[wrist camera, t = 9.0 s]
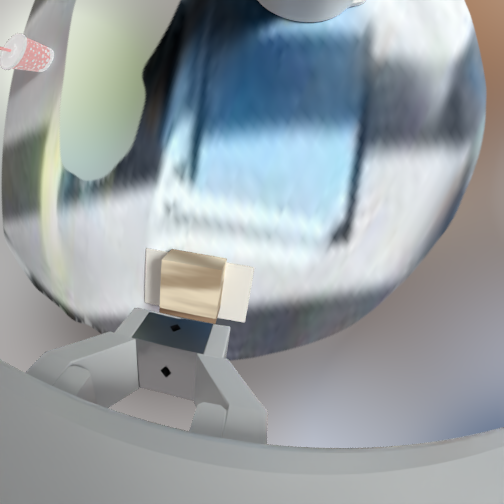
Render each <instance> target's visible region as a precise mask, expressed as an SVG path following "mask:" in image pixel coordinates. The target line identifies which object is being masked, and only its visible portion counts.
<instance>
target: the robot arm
mask: <svg viewBox="0 0 504 504" xmlns="http://www.w3.org/2000/svg"><path fill="white" fill-rule="evenodd" d="M258 1H259V3H260V4H261V5H262V6H264V7H265V8H266V9H267V10H269V11H270V12H272V13H274V14H276V15H278V16H280V17H283V18H286V19H290V20H294V21H300V22H319V21H324V20H328V19H331V18H333V17H336V16H337V15H339V14H340V13H342V12H343V11H344V10H346V9H347V8H349V7H352V6H357V5H361V4H364V3H365V1H366V0H258ZM229 335H230V327H229V326H222V325H215V324H214V325H213V324H209V323H203V322H197V321H192V320H186V319H182V318H179V317H174V316H170V315H166V314H162V313H158V312H154V311H150V310H146V309H141V308H134V309H133V310H132V312H131V313H130V314H129V315H128V317H127V318H126V319H125V320H124V321H123V323H122V324H121V325H120V326H119V328H118V329H117V330H116V331H115V332H114V333H113V332H107V333H104V334H101V335H98V336H95V337H92V338H89V339H85V340H82V341H79V342H76V343H72V344H69V345H66V346H63V347H59V348H56V349H53V350H50V351H46V352H45V353H44V354H43V355H42V356H41V357H40V358H39V359H38V360H37V361H36V362H35V363H34V364H33V365H32V366H31V367H30V368H29V369H28V371H26V373H25V372H23V371H21V370H19V369H17V368H15V367H13V366H11V365H10V364H8V363H6V362H4V361H2V360H1V359H0V504H504V427H502V428H499V429H495V430H491V431H487V432H483V433H479V434H474V435H469V436H464V437H459V438H454V439H448V440H442V441H435V442H429V443H420V444H412V445H402V446H389V447H372V448H309V447H292V446H278V445H269V444H267V417H268V411H267V410H266V409H265V408H264V406H263V405H262V404H261V403H260V401H259V400H258V399H257V397H256V396H255V395H254V394H253V392H252V391H251V390H250V388H249V387H248V385H247V384H246V383H245V382H244V380H243V379H242V378H241V376H240V375H239V373H238V372H237V371H236V369H235V368H234V367H233V365H232V364H231V362H230V361H229V360H228V359H226V354H227V348H228V341H229ZM139 387H140V388H144V389H148V390H152V391H156V392H161V393H165V394H169V395H172V396H176V397H180V398H184V399H188V400H192V401H194V404H195V406H196V411H195V414H194V417H193V420H192V424H191V427H190V430H189V431H185V430H181V429H177V428H172V427H169V426H165V425H161V424H157V423H153V422H150V421H146V420H143V419H139V418H136V417H132V416H130V415H126V414H123V413H120V412H117V411H114V410H111V409H108V408H109V407H110V406H112V405H113V404H115V403H117V402H118V401H120V400H122V399H123V398H125V397H126V396H128V395H130V394H131V393H133V392H135V391H136V390H138V389H139Z"/></svg>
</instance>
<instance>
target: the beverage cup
mask: <svg viewBox="0 0 504 504" xmlns="http://www.w3.org/2000/svg"><path fill="white" fill-rule="evenodd" d="M0 50H2V52H1V55H0V66H1V68H2V69H6V70H7V69H8V70H9V69H19V70H28V71H35V72H43V71H45V70H46V69H48V68H49V66H50V65H51V63H52V61H53V58H54V51H53V50H52V49H51V48H49V47H47V46H44V45H42V44H40V43H38V42H36V41H34V40H31V39H29V38H27V37H26V36H25V35H23V34H21V33H17V34H15V35H13V36H12V37H11V38H10V39H9V40H8V41H7V42H6V44H5V45H4V47H0Z"/></svg>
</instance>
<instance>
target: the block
mask: <svg viewBox="0 0 504 504" xmlns="http://www.w3.org/2000/svg"><path fill="white" fill-rule="evenodd" d="M226 261H227V259H226V258H220V257H214V256H209V255H203V254H197V253H192V252H186V251H180V250H175V249H172V250H171V251H170V252H169V253H168V254H167V255H166V256H165V257H164V258H163V259H162V265H161V285H160V313H164V314H169V315H173V316H178V317H183V318H188V319H193V320H198V321H203V322H208V323H213V324H215V323H216V320H217V317H218V313H219V310H220V305H221V298H222V290H223V283H224V276H225V268H226Z"/></svg>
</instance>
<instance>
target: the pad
mask: <svg viewBox="0 0 504 504" xmlns="http://www.w3.org/2000/svg"><path fill="white" fill-rule="evenodd" d="M168 253H169V252H166V251H160V250H155V249H149V248H147V249H146V269H145V303H149V304H153V305H158V306H160V285H161V265H162V259H163V258H164V257H165V256H166V255H167V254H168ZM253 273H254V267H251V266H245V265H239V264H233V263H228V262H226V268H225V276H224V283H223V290H222V298H221V305H220V310H219V313H218V317H217V318H222V319H228V320H233V321H239V322H245V319H246V313H247V307H248V302H249V296H250V290H251V285H252V279H253Z"/></svg>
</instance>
